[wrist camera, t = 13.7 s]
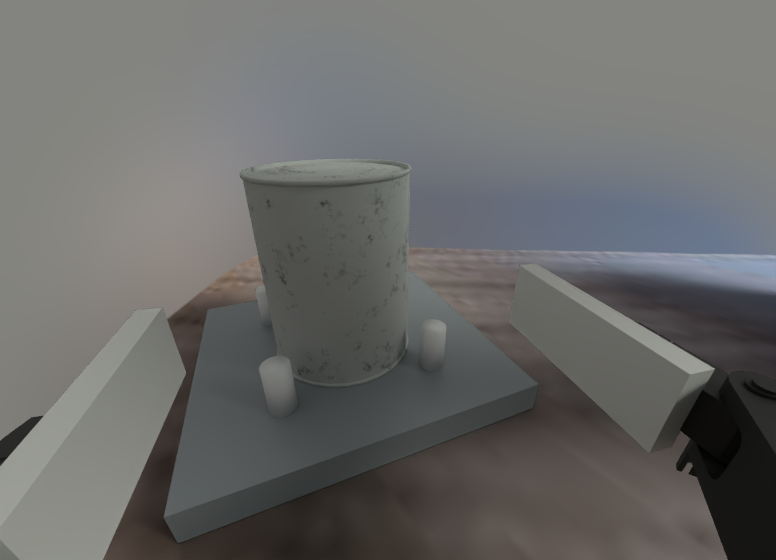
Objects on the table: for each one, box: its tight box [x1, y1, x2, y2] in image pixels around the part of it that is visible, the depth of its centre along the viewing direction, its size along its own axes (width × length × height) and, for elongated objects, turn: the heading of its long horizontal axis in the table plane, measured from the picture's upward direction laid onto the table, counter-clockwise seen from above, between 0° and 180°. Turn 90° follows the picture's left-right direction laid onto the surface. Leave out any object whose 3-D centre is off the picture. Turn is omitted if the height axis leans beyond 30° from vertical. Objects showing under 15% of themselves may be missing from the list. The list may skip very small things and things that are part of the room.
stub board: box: [164, 272, 539, 543], centre depth 24 cm, size 20×18×5 cm
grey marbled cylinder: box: [240, 159, 411, 388], centre depth 21 cm, size 10×10×12 cm
